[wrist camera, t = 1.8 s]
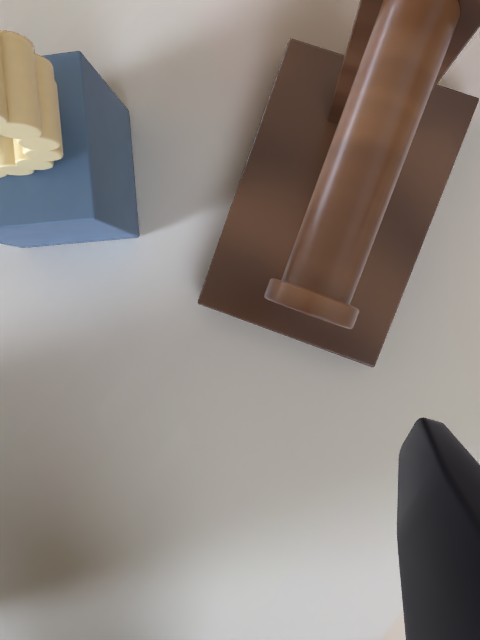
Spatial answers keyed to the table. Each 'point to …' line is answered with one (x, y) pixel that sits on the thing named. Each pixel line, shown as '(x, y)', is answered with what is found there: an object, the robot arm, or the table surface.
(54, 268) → the table surface
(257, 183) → the stand
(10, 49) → the cream fluted ring
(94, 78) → the blue block
